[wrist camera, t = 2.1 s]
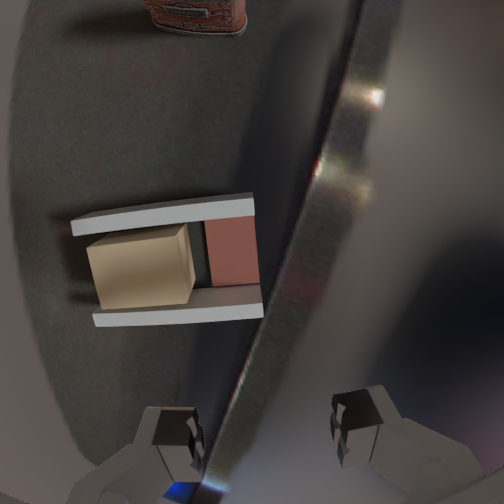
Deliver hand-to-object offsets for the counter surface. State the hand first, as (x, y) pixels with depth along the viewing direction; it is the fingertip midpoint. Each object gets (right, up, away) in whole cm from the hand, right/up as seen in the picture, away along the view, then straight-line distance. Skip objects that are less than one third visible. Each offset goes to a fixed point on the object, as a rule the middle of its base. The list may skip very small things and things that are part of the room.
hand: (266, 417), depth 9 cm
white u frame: (-7, +5, +18) cm, 20 cm away
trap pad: (-2, +5, +18) cm, 19 cm away
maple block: (-9, +5, +19) cm, 21 cm away
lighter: (-5, +24, +13) cm, 28 cm away
